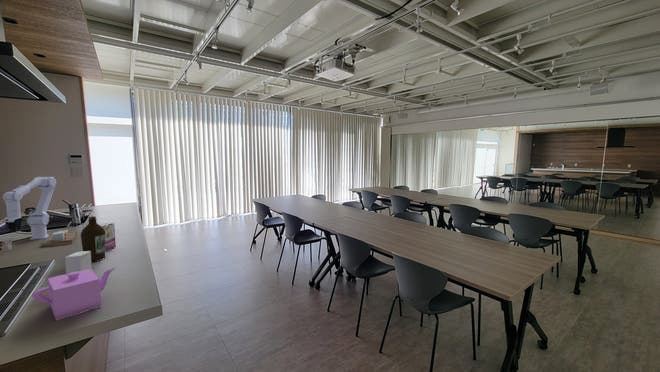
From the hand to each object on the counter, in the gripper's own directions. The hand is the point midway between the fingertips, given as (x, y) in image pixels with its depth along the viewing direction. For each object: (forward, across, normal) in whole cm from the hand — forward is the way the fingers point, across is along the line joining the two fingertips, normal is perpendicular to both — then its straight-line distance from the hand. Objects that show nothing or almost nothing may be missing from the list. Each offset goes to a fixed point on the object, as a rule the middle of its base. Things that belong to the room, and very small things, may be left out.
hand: (15, 230), depth 176 cm
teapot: (+10, +117, +41) cm, 125 cm away
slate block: (+8, +8, +21) cm, 24 cm away
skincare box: (+10, +94, +39) cm, 102 cm away
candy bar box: (+10, +41, +46) cm, 62 cm away
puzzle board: (+9, +2, +21) cm, 23 cm away
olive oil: (+10, +58, +42) cm, 72 cm away
